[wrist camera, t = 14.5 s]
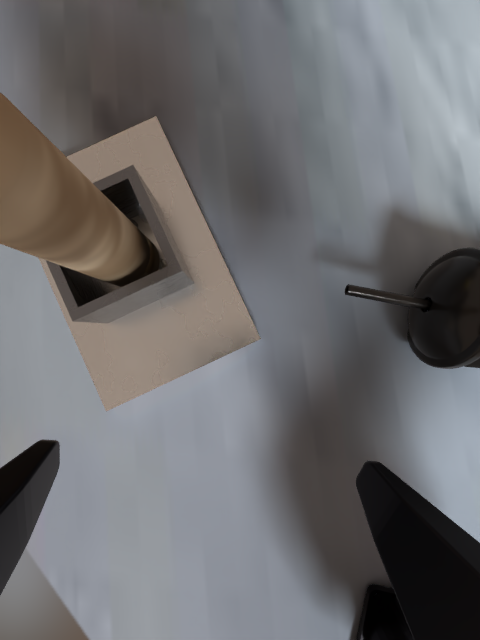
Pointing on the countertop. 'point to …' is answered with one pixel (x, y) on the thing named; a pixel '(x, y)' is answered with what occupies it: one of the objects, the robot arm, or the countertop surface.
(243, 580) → the countertop surface
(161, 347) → the post socket base
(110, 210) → the rail post
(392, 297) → the drinking cup
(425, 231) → the countertop surface
